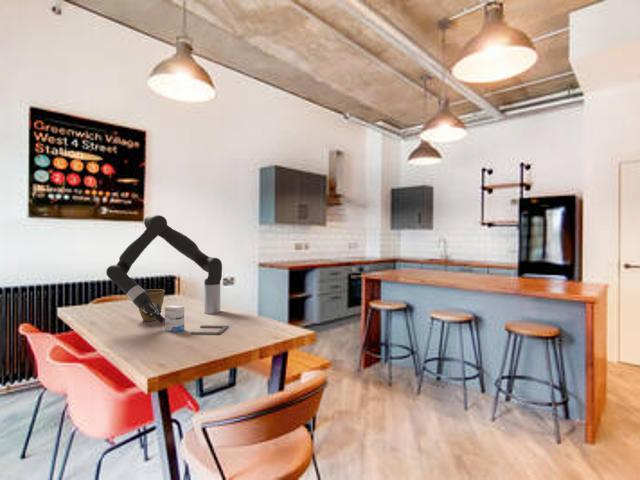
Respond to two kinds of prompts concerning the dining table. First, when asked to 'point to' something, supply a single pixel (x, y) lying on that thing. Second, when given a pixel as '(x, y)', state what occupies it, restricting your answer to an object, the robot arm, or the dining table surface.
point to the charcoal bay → (211, 332)
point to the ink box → (174, 318)
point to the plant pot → (156, 298)
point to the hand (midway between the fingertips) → (163, 321)
